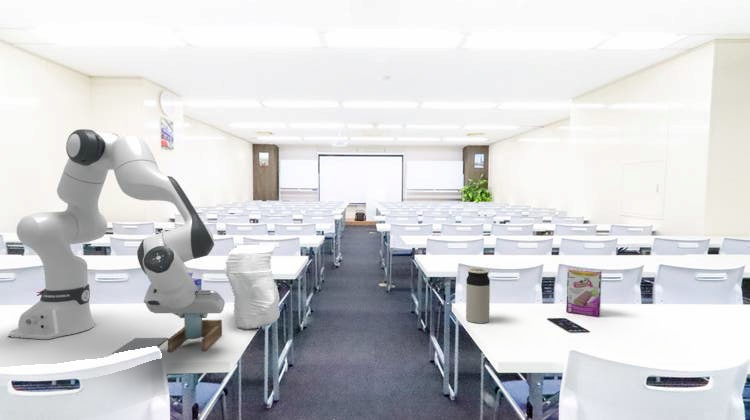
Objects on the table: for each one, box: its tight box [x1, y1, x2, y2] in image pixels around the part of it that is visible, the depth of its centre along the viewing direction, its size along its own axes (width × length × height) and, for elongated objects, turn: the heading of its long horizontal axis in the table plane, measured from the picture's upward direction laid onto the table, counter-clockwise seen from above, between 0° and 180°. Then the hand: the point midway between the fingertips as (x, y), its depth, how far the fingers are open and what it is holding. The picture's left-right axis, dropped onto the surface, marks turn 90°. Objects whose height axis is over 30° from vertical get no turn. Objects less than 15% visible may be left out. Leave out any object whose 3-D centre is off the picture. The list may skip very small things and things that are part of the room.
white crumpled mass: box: [223, 243, 281, 330], centre depth 140 cm, size 21×27×26 cm
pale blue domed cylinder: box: [183, 313, 203, 340], centre depth 121 cm, size 5×7×10 cm
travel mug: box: [465, 267, 491, 324], centre depth 143 cm, size 8×8×18 cm
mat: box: [110, 337, 169, 354], centre depth 117 cm, size 10×14×1 cm
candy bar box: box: [565, 267, 603, 318], centre depth 151 cm, size 11×5×16 cm, turn 58°
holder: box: [167, 319, 223, 353], centre depth 121 cm, size 11×13×5 cm
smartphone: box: [546, 317, 591, 334], centre depth 138 cm, size 8×1×15 cm
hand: (194, 316), depth 120 cm, fingers closed on pale blue domed cylinder, 5 cm apart
